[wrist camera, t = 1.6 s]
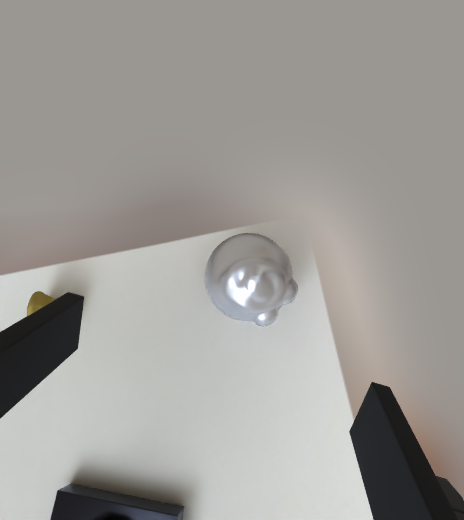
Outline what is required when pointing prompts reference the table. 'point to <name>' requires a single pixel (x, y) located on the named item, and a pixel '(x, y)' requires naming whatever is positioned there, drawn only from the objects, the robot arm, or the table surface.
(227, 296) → the ghost figurine
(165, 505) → the panel
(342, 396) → the table surface
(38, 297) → the knob
